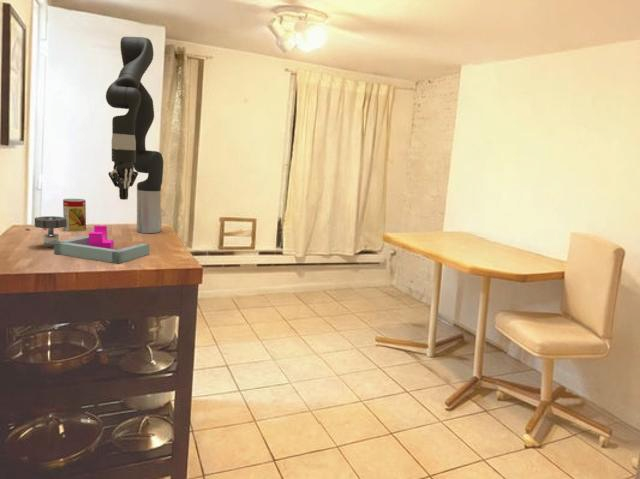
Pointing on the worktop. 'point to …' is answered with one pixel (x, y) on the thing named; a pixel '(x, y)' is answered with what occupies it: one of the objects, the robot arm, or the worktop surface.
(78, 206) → the canned food
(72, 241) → the grey u-shaped bracket
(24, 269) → the worktop surface
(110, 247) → the toy block
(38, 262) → the worktop surface
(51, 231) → the axle hub
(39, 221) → the wheel
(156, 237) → the worktop surface
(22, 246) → the worktop surface
